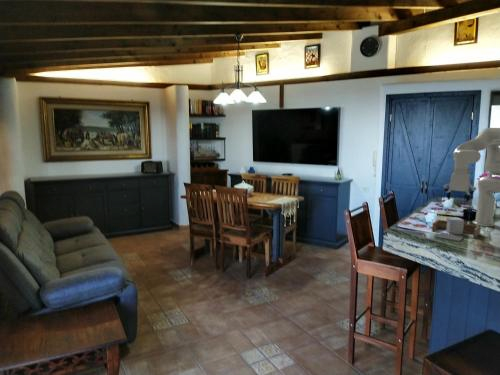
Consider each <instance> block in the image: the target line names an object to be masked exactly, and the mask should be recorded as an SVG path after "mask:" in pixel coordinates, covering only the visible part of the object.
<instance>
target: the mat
mask: <svg viewBox="0 0 500 375" xmlns="http://www.w3.org/2000/svg"><path fill="white" fill-rule="evenodd" d="M436 238H438V239H442V240H449V241H454V242H461V241H462V240H463V239H464V238H465V235H461V234H448V233H447V232H440V233H439V234H438V235H437V236H436Z"/></svg>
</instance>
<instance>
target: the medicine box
mask: <svg viewBox="0 0 500 375" xmlns="http://www.w3.org/2000/svg"><path fill="white" fill-rule="evenodd" d="M446 221H447V229H445V230H446V231H445V233H449V234H454V235H463V234H464V232H463V227H464V224H465V220H464V219H462V218H447V220H446Z"/></svg>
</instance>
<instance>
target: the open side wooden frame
mask: <svg viewBox="0 0 500 375" xmlns="http://www.w3.org/2000/svg"><path fill="white" fill-rule="evenodd" d="M431 227H432V228H431V232H435V231H436V230H438V229H442V228H443V230H447V220H442V219H437V220H434V222H432V226H431ZM437 228H438V229H437ZM463 233H466V234H467V233H468V234H473V236H472V237H473V239H477V237H478V236H479V233H480V225H476V224H469V223H464V227H463Z"/></svg>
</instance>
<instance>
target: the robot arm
mask: <svg viewBox="0 0 500 375" xmlns="http://www.w3.org/2000/svg"><path fill="white" fill-rule="evenodd" d="M484 150H486V151H487V152H486V153H487V155H486V158H485V164H484V170H483V171H484V173H485V174H486V175H490V176H481V177H480V178H479V179H478V181H477V182H478V183H477V187H478V188H477V187H476V186H474V185H472V184H471V175H470V173H471V174H472V170H470V164H474V163H475V164H476V163H478V162H479V161H480V160H481V157H482V155H481V151H484ZM452 159H453V161H454V166H453V168H454V169H453V173H451V176H450V182H448V183H446V184H445V183H444V184H443V185H442V186H443V189H444V191H445V192H446V199H447V200H448V201H449V200H450V199H451V197H452V196H451V192H452V191H457V192H465V193H466V196H465V197H466V198H465V202H466V203H468V202H469V201H470V200H471V195H473V194H475V192H476V190H477V189H478V190H477V191H478V195H477V202H476V203H477V204H476V213H475V220H474V219H473V220H472V224H473V225H476V226H481V227H495V225H496V223H494V222H493V219H494V211H495V202H496V197H495V195H494V193H498V194H500V127H486V128H483V129H482V130H481V131H480V132H479V133H478V135H476V136H475V138H474V139H471V140H467V141H465V142H463V143H461V144H460V145H458V146H457V147H456V148H455V150H454V151H453V153H452ZM495 176H499V177H495ZM447 186H448V187H449V189H448V187H447ZM470 189H472V190H471V191H470Z"/></svg>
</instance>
